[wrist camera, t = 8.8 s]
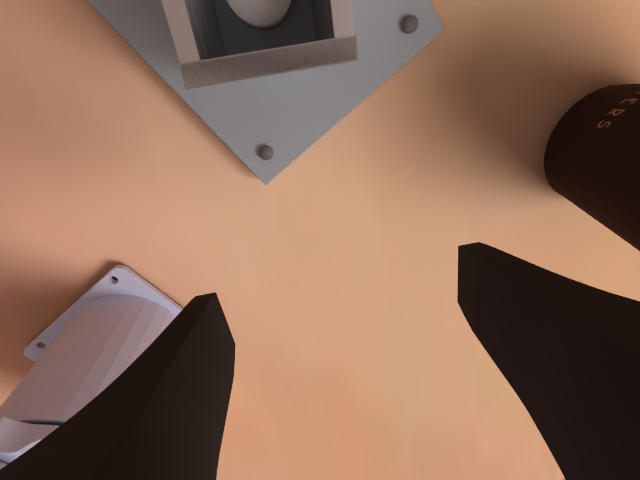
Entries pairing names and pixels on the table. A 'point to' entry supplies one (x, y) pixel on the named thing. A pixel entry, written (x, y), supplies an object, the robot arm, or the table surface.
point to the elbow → (216, 67)
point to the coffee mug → (600, 158)
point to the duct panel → (287, 88)
